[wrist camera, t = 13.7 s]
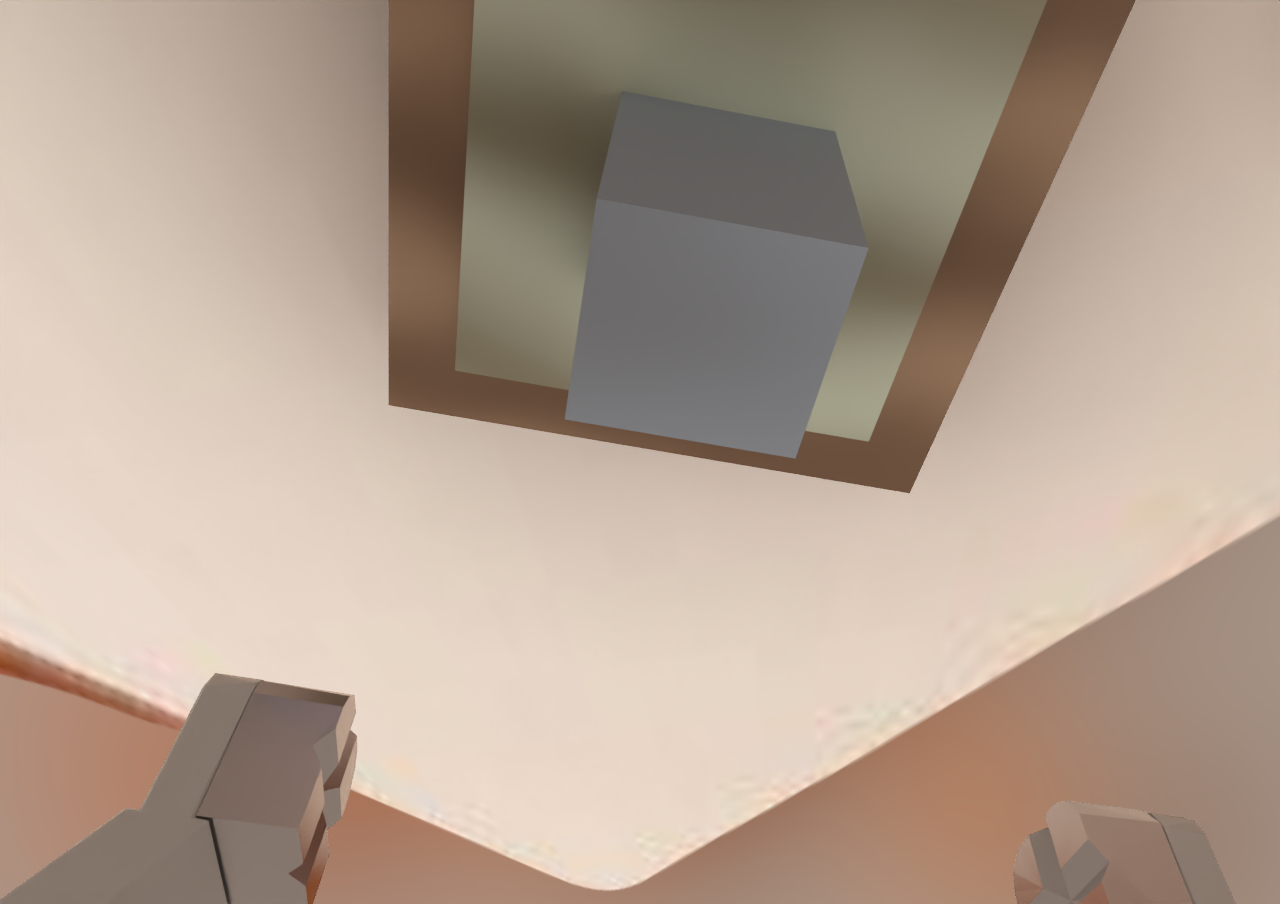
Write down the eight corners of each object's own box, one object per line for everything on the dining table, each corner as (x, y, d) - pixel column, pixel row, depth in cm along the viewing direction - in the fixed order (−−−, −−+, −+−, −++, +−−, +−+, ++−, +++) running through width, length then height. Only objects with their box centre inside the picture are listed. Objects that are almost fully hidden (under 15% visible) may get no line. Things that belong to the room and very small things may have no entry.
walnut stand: (431, -262, 21) (382, -255, 18) (1120, -119, 22) (1187, -89, 19) (417, 342, 31) (384, 414, 28) (892, 425, 32) (912, 503, 29)
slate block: (622, 91, 22) (596, 198, 17) (835, 131, 22) (868, 248, 17) (592, 283, 25) (564, 419, 20) (780, 317, 25) (795, 458, 20)
